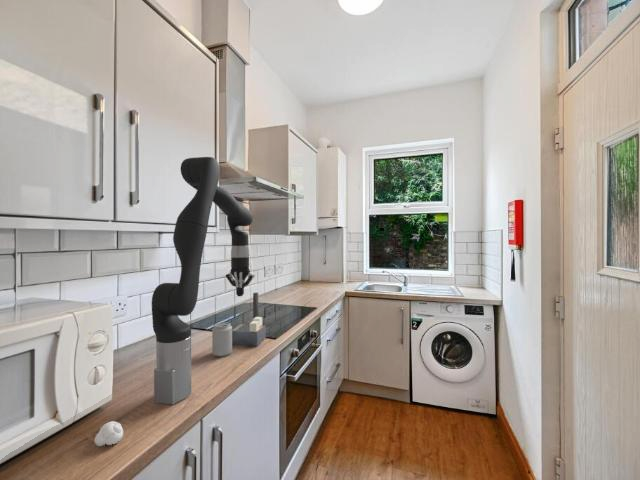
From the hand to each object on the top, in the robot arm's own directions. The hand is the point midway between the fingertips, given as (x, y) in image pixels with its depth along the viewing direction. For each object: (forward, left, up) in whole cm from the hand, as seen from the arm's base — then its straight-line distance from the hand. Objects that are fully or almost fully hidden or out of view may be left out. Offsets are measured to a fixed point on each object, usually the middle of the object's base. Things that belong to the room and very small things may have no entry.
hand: (240, 295), depth 126 cm
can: (-11, +2, -21) cm, 24 cm away
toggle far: (+6, -6, -15) cm, 17 cm away
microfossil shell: (-61, +3, -21) cm, 65 cm away
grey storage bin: (+3, -3, -21) cm, 21 cm away
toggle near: (0, -7, -15) cm, 16 cm away
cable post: (+11, -3, -21) cm, 24 cm away
